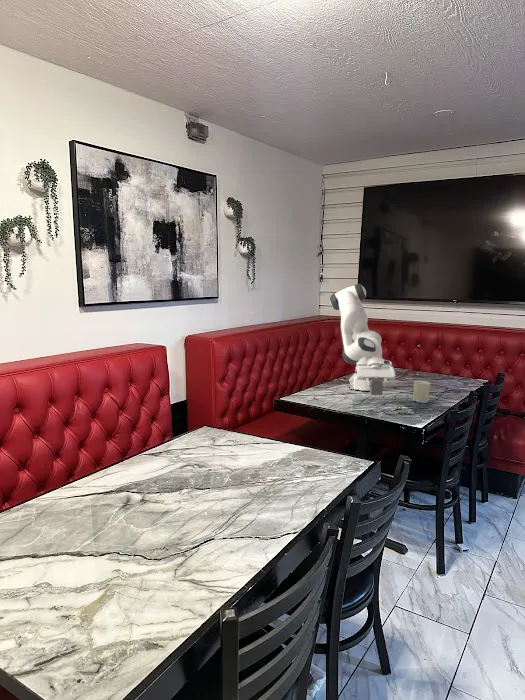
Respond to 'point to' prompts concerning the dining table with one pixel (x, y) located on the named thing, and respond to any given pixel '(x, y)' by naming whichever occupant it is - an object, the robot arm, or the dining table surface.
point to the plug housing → (376, 386)
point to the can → (421, 390)
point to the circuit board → (398, 409)
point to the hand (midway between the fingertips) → (376, 386)
